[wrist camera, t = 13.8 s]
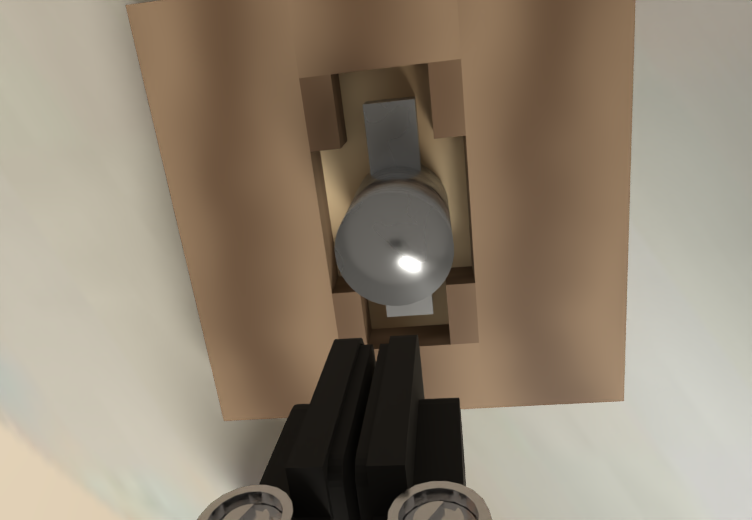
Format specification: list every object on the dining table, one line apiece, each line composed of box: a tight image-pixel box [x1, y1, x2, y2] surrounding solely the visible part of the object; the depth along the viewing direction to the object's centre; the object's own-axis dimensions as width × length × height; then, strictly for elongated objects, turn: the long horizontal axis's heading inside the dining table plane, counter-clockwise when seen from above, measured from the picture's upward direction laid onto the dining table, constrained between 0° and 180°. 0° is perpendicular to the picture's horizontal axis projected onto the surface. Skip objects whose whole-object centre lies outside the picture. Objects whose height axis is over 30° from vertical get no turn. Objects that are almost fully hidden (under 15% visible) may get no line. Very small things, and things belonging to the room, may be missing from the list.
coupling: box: [335, 96, 454, 317], centre depth 22 cm, size 9×4×6 cm, turn 7°
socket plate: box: [126, 0, 635, 421], centre depth 24 cm, size 18×18×2 cm
